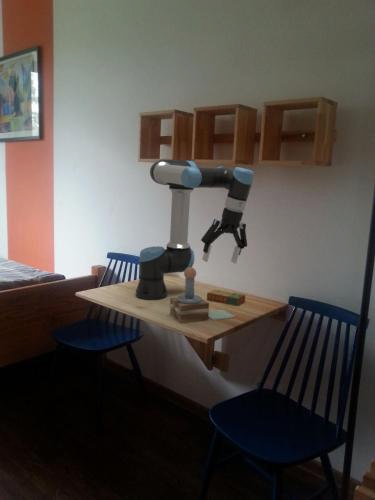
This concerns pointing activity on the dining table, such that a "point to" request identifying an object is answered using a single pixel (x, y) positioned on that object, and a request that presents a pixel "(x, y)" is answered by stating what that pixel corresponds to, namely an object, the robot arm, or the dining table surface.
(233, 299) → the carton
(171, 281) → the dining table surface
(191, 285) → the arcade joystick
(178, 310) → the box
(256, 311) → the dining table surface
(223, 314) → the mat
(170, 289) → the dining table surface
